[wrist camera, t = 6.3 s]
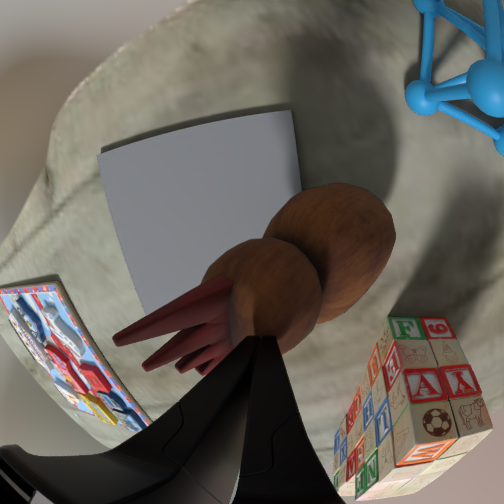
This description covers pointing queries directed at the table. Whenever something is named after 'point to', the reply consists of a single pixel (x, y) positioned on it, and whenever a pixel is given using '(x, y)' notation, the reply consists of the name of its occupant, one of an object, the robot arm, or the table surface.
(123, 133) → the table surface
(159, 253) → the felt mat
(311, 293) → the wooden figurine
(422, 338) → the stack of blocks
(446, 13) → the molecular structure
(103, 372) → the puzzle board
